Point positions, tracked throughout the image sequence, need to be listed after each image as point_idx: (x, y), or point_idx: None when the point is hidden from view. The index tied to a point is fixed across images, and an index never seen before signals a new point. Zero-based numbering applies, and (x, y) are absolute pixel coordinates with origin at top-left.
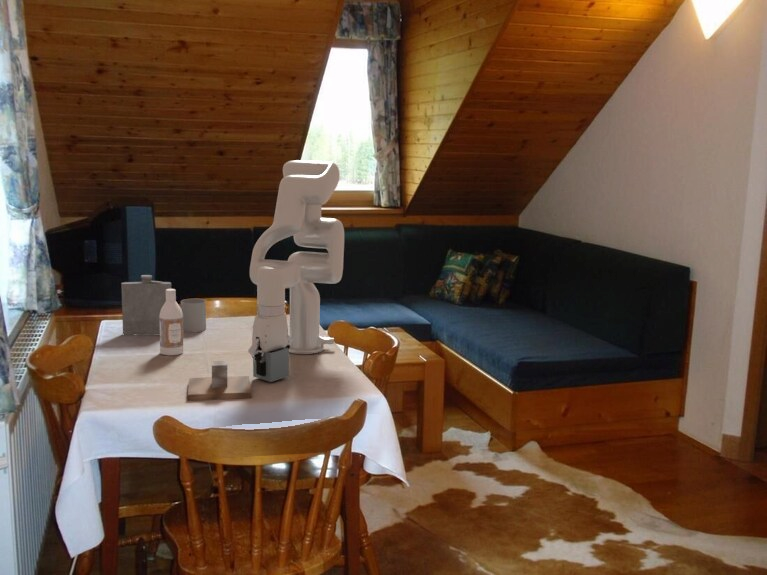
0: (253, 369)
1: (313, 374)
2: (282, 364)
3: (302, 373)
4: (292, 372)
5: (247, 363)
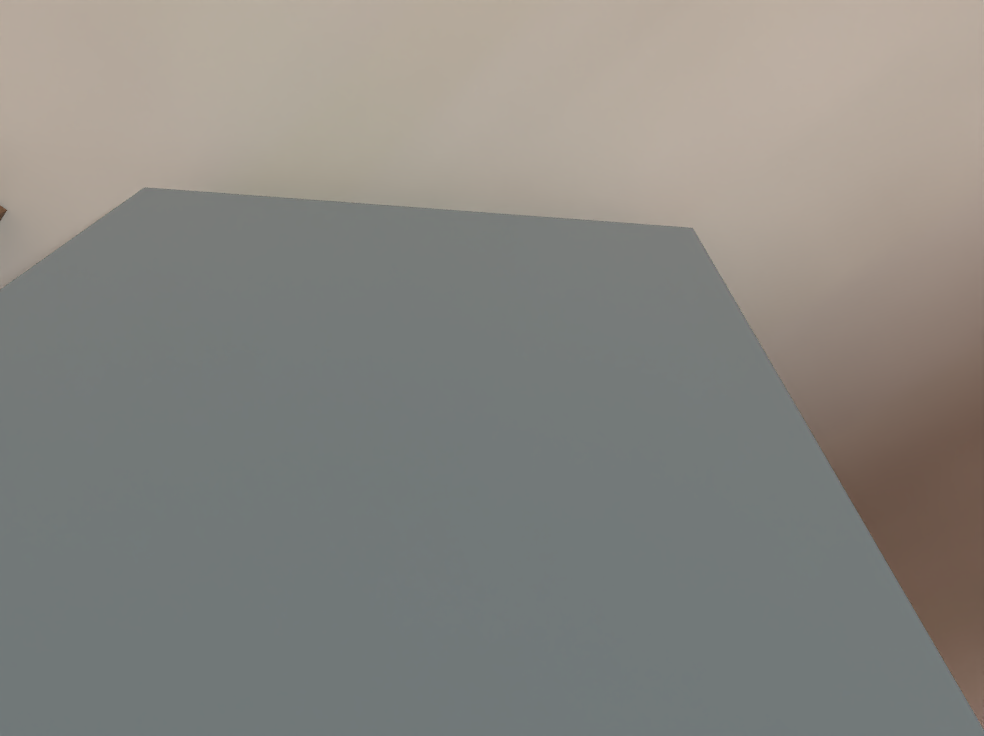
0: (58, 262)
1: (972, 679)
2: None
3: (954, 568)
4: (939, 440)
5: None
